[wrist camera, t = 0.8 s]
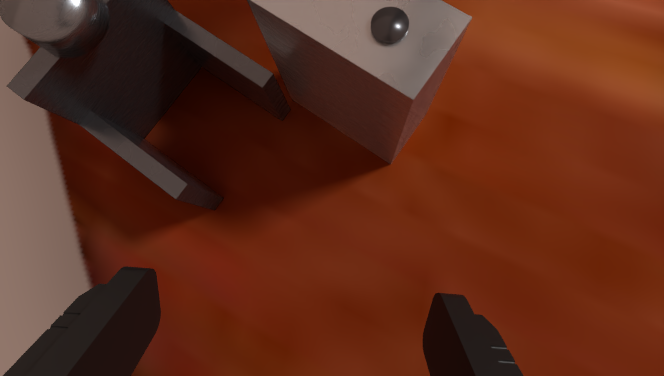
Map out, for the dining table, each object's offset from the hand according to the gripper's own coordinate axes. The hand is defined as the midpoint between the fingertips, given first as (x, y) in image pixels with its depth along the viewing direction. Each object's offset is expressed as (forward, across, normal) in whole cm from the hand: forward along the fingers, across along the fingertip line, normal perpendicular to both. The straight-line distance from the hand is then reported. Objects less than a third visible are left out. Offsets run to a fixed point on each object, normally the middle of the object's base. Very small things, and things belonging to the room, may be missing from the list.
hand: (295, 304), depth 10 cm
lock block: (+21, -3, -2) cm, 21 cm away
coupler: (+22, +10, +1) cm, 24 cm away
